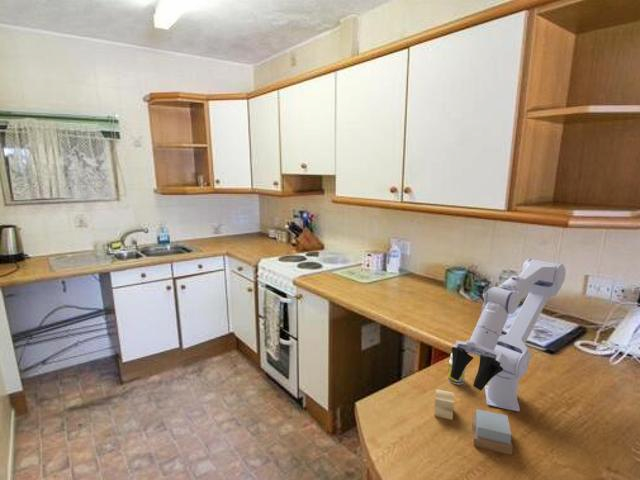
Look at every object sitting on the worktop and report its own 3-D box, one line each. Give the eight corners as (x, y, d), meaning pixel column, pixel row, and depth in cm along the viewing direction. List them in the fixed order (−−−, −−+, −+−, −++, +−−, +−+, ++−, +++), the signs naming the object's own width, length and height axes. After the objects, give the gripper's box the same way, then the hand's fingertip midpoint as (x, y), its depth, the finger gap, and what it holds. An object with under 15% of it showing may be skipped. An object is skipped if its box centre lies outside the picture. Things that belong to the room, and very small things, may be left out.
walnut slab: (471, 425, 92) (472, 416, 92) (507, 433, 89) (507, 424, 89) (473, 447, 85) (474, 438, 84) (511, 456, 82) (512, 447, 82)
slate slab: (475, 417, 91) (476, 409, 91) (506, 424, 89) (507, 415, 88) (476, 436, 85) (477, 427, 84) (510, 444, 82) (511, 434, 82)
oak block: (435, 405, 99) (436, 389, 98) (452, 409, 98) (453, 392, 97) (434, 416, 95) (435, 398, 94) (452, 420, 93) (453, 402, 92)
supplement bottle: (450, 374, 114) (452, 349, 113) (466, 379, 111) (468, 354, 110) (445, 381, 111) (447, 355, 109) (461, 387, 108) (463, 361, 106)
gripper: (455, 319, 95) (433, 367, 92) (500, 329, 82) (476, 385, 78) (473, 332, 97) (453, 379, 94) (520, 344, 83) (498, 399, 80)
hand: (465, 383), depth 86 cm, fingers open, 7 cm apart
